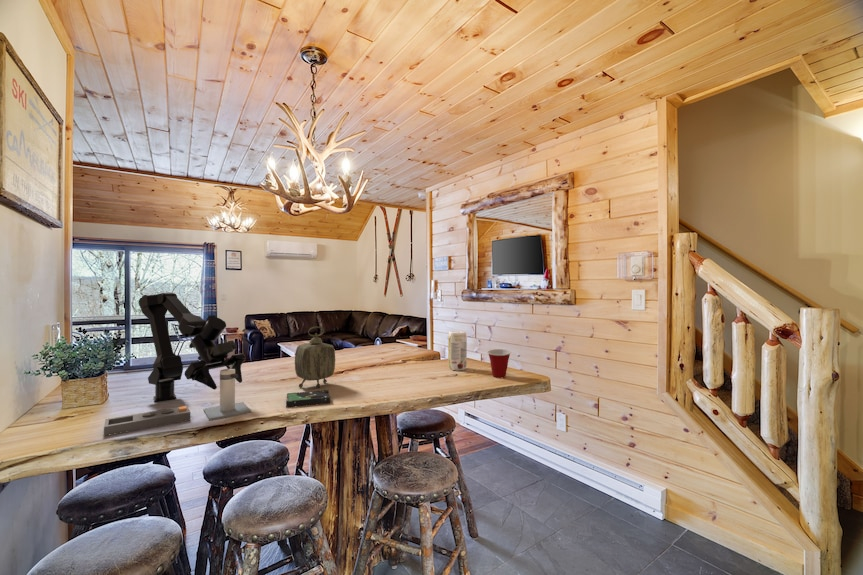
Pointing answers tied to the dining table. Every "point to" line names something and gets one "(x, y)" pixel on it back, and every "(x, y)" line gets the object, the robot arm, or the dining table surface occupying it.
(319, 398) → the disk drive
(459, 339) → the juice carton
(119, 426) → the power strip
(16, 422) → the dining table surface
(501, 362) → the plastic cup
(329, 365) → the tabletop clock
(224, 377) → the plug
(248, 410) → the mat
